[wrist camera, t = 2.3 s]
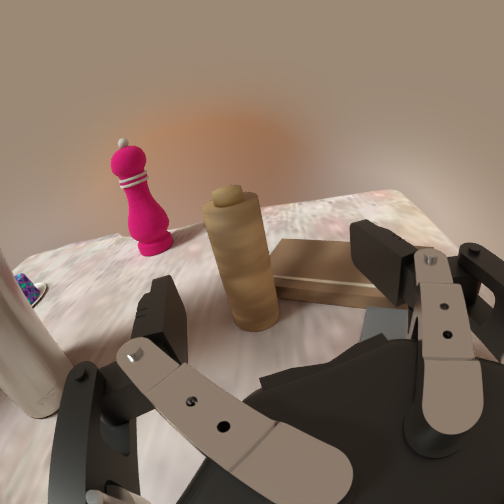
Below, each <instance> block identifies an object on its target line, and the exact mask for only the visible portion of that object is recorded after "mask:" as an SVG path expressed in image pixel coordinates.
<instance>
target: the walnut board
mask: <svg viewBox="0 0 504 504" xmlns="http://www.w3.org/2000/svg"><path fill="white" fill-rule="evenodd" d="M414 247H416V248H417V249H419V250H420V249H425V248H431V249H434V247H422V246H414ZM270 261H271V267H272V272H273V277H274V283H275V288H276V293H277V298H282V299H289V300H297V301H304V302H312V303H321V304H329V305H338V306H347V307H356V308H366V309H367V306H370V307H380V308H391V309H403V310H407V306H408V304H407V303H405V304H403V305H401V306H398V307H395V306H394V305H393V304H392V303H391V302H390V301H389V300H388V299H387V298H386V297H385V296H384V295H383V294H382V293H381V292H380V291H379V290H378V289H377V288H376V287H375V286H374V285H373V284H372V283H371V282H370V281H369V280H368V279H367V278H366V277H365V276H364V275H363V274H362V273H361V272H360V271H359V270H358V269H357V268H356V267H355V266H354V264H353V261H352V258H351V246H350V242H340V241H321V240H301V239H282V240H281V241H280V242H279V244H278V245H277V246H276V248H275V249H274V250H273V252H272V253H271V255H270Z"/></svg>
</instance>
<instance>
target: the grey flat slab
mask: <svg viewBox="0 0 504 504" xmlns="http://www.w3.org/2000/svg"><path fill="white" fill-rule="evenodd" d="M406 318H407V310H403V309H391V308H380V307H370V306H367V310H366V315H365V320H364V324H363V329H362V334H361V338H360V342H362V341H364V340H366V339H369V338H371V337H373V336H375V335H378V334H380V333H383V334H384V336H385V337H386V338H387V339H388V340H392V339H406Z"/></svg>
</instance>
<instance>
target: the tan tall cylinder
mask: <svg viewBox="0 0 504 504" xmlns="http://www.w3.org/2000/svg"><path fill="white" fill-rule="evenodd" d="M211 195H212V198H213V199H212V200H210V201H208V202H207V203H205V204H204V205H203V206H202V207H201V211H202V215H203V218H204V222H205V226H206V229H207V232H208V236H209V239H210V243H211V246H212V249H213V253H214V256H215V259H216V263H217V266H218V269H219V273H220V276H221V279H222V282H223V285H224V289H225V292H226V295H227V298H228V301H229V304H230V308H231V311H232V314H233V317H234V320H235V323H236V325H237V326H238V327H239V328H240V329H242V330H245V331H249V332H257V331H262V330H265V329H267V328H269V327H271V326H272V325H274V324H275V323H276V322H277V320H278V319H279V316H280V310H279V304H278V299H277V293H276V288H275V283H274V277H273V272H272V267H271V261H270V256H269V251H268V246H267V241H266V236H265V230H264V225H263V220H262V215H261V210H260V205H259V200H258V196H257V194H255V193H252V192H242V188H241V186H240V185H230V186H225V187H222V188H219V189H216V190H215V191H213V192H212V193H211Z"/></svg>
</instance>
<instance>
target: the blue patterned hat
mask: <svg viewBox="0 0 504 504" xmlns="http://www.w3.org/2000/svg"><path fill="white" fill-rule="evenodd" d="M15 279H16V281H17V283H18V284H19V286H20V288H21V290H22V291H23V293H24V295H25V297H26V298H27V300H28V302H29V303H30V305H31V304H32V305H31V306H33V305H34V304H35V303H36V302H37V301H38V300H39V299H40V297H41V296H42V295H43V293H44V291H45V289H46V284H45V283H43V282H40V283H36V284H33V283H32V282H31V281H30V280H29V279H28V278H27V276H26V275H25V274H23V273H21V274H18V275H16V276H15ZM39 290H40V292H39ZM39 294H40V295H39ZM38 296H39V297H38ZM37 297H38V299H37Z"/></svg>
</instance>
